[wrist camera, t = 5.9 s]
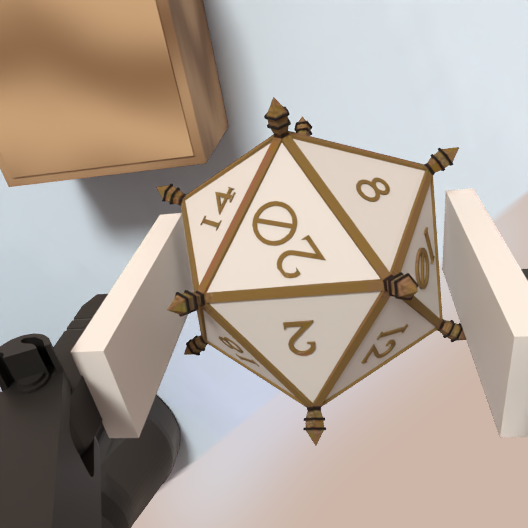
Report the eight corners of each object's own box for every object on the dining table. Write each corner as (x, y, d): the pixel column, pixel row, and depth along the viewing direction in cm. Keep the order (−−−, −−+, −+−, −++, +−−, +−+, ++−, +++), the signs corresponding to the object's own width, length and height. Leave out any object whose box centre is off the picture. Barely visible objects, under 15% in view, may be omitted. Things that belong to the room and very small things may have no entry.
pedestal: (228, 126, 30) (205, 164, 24) (60, 148, 32) (7, 187, 27) (182, -99, 24) (140, -112, 19) (-18, -54, 26) (-105, -54, 21)
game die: (272, 164, 21) (36, 191, 14) (459, 47, 15) (208, -7, 8) (347, 364, 21) (142, 495, 14) (569, 327, 15) (407, 527, 8)
